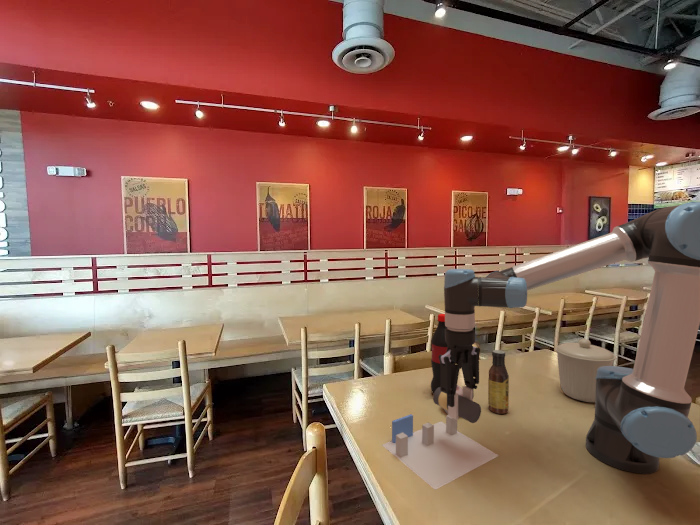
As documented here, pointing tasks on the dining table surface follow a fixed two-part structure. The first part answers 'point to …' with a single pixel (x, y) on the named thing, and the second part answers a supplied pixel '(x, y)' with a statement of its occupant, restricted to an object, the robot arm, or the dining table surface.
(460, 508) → the dining table surface
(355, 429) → the dining table surface
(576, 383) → the canister
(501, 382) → the sauce bottle
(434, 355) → the cola bottle
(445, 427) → the white base plate
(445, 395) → the banded cylinder post
